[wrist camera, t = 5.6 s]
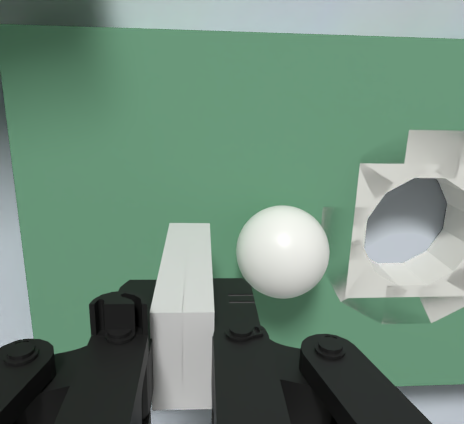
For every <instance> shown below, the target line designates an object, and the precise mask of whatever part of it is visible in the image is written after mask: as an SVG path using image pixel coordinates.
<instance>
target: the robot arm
mask: <svg viewBox="0 0 464 424" xmlns="http://www.w3.org/2000/svg"><path fill="white" fill-rule="evenodd" d="M89 314H90V328H91V337H90V340H89V342H88V344H87V346H84V347H82V348H79V349H76V350H72V351H67V352H62V353H58V354H54V348H53V345H51V344H50V343H49V342H48V341H45V340H41V339H23V340H17V341H14V342H12V343H9V344H7V345H4V346H2V347H1V348H0V424H151V412H150V408H151V402H152V411H153V410H197V409H212V424H432V423H431V422H430V421H429V420H428V419H427V418H426V417H425V416H424V415H423V414H422V413H421V412H420V411H419V410H418V409H417V408H416V407H415V406H414V405H413V404H412V403H411V402H410V401H409V400H408V399H407V398H406V397H405V396H404V394H403V393H402V392H401V391H400V390H399V389H398V388H397V387H396V386H395V385H394V384H393V383H392V382H391V381H390V380H389V379H388V378H387V377H386V376H385V375H384V374H383V373H382V372H381V371H380V370H379V369H378V368H377V367H376V366H375V365H374V364H373V363H372V362H371V361H370V360H369V359H368V358H367V357H366V356H365V355H364V354H363V353H362V352H361V351H360V350H359V349H358V348H357V347H356V346H355V345H354V344H353V343H351V342H350V341H349V340H347V339H344V338H342V337H339V336H337V335H333V334H332V335H331V334H315V335H312V336H308V337H307V338H306V339H304V340H303V341H302V344H301V348H295V347H289V346H285V345H281V344H279V343H276V342H274V341H272V340H271V339H269V335H268V333H267V331H266V329H265V328H264V327H263V326H261V325H260V321H259V317H258V312H257V308H256V304H255V300H254V296H253V291H252V287H251V285H250V284H249V283H248V282H247V281H245V280H244V279H243V278H213V274H212V256H211V237H210V223H169V228H168V232H167V237H166V241H165V246H164V250H163V255H162V259H161V264H160V268H159V273H158V277H157V280H129V281H127V282H126V283H125V284H123V285H122V286H121V287H120V288H119V291H116V292H110V293H106V294H102V295H100V296H98V297H96V298H95V299H93V300H92V301H91V302H90V304H89Z"/></svg>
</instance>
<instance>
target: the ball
mask: <svg viewBox="0 0 464 424" xmlns="http://www.w3.org/2000/svg"><path fill="white" fill-rule="evenodd" d="M329 253H330V250H329V243H328V239H327V236H326V234H325V231H324V230H323V228H322V226H321V225H320V224H319V222H318V221H317V220H316V219H315V218H314V217H313V216H311V215H310V214H309V213H307V212H305V211H303V210H301V209H299V208H296V207H292V206H286V205H279V206H272V207H269V208H266V209H263V210H261V211H259V212H258V213H256V214H255V215H253V216H252V217H251V218H250V219H249V220H248V221H247V222H246V224H245V225H244V226H243V228H242V230H241V232H240V234H239V237H238V241H237V246H236V257H237V263H238V266H239V269H240V271H241V273H242V275H243V277H244V278H245V280H246V281H247V282H248V283H249V284H250V285H251V286H252V287H253V288H254V289H255V290H257V291H258V292H260V293H262V294H264V295H267V296H269V297H273V298H280V299H287V298H293V297H297V296H300V295H302V294H304V293H306V292H308V291H309V290H311V289H312V288H313V287H315V286H316V285H317V284H318V282H319V281H320V280H321V278H322V277H323V275H324V273H325V271H326V269H327V266H328V262H329Z"/></svg>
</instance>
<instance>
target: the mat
mask: <svg viewBox="0 0 464 424" xmlns="http://www.w3.org/2000/svg"><path fill="white" fill-rule="evenodd" d="M0 72H1V80H2V88H3V96H4V104H5V112H6V120H7V128H8V136H9V144H10V152H11V160H12V168H13V176H14V184H15V192H16V200H17V208H18V216H19V224H20V232H21V240H22V248H23V256H24V264H25V272H26V280H27V288H28V296H29V304H30V312H31V320H32V328H33V336H34V339H41V340H45V341H48V342H49V343H50V344H51V345H53V348H54V354H58V353H62V352H67V351H72V350H76V349H79V348H82V347H84V346H87V344H88V342H89V340H90V337H91V328H90V314H89V304H90V302H91V301H92V300H93V299H95V298H96V297H98V296H100V295H102V294H106V293H110V292H116V291H119V288H120V287H121V286H122V285H123V284H125V283H126V282H127V281H129V280H157V277H158V273H159V268H160V264H161V259H162V255H163V250H164V246H165V241H166V237H167V232H168V228H169V223H210V237H211V256H212V274H213V278H243V279H244V280H245V278H244V277H243V275H242V273H241V271H240V269H239V266H238V263H237V257H236V246H237V241H238V237H239V234H240V232H241V230H242V228H243V226H244V225H245V224H246V222H247V221H248V220H249V219H250V218H251V217H252V216H253V215H255V214H256V213H258V212H259V211H261V210H263V209H266V208H269V207H272V206H279V205H286V206H292V207H296V208H299V209H301V210H303V211H305V212H307V213H309V214H310V215H311V216H313V217H314V218H315V219H316V220H317V221H318V222H319V224H320V225H321V226H322V228H323V230H324V231H325V234H326V236H327V239H328V243H329V250H330V253H329V262H328V266H327V269H326V271H325V273H324V275H323V277H322V278H321V280H320V281H319V282H318V284H317V285H316V286H315V287H313V288H312V289H311V290H309V291H308V292H306V293H304V294H302V295H300V296H297V297H293V298H287V299H280V298H273V297H269V296H267V295H264V294H262V293H260V292H258V291H257V290H255V289H254V288H253V287H252V286H251V287H252V291H253V296H254V300H255V304H256V308H257V312H258V317H259V321H260V325H261V326H263V327H264V328H265V329H266V331H267V333H268V335H269V339H271V340H272V341H274V342H276V343H279V344H281V345H285V346H289V347H295V348H301V344H302V341H303V340H304V339H306V338H307V337H308V336H312V335H315V334H331V335H332V334H333V335H337V336H339V337H342V338H344V339H347V340H349V341H350V342H351V343H353V344H354V345H355V346H356V347H357V348H358V349H359V350H360V351H361V352H362V353H363V354H364V355H365V356H366V357H367V358H368V359H369V360H370V361H371V362H372V363H373V364H374V365H375V366H376V367H377V368H378V369H379V370H380V371H381V372H382V373H383V374H384V375H385V376H386V377H387V378H388V379H389V380H390V381H391V382H392V383H393V384H394V385H395V386H424V385H455V384H464V39H445V38H415V37H384V36H354V35H323V34H293V33H263V32H232V31H202V30H171V29H141V28H111V27H80V26H50V25H19V24H0ZM414 178H435V179H437V180H438V182H439V184H440V187H441V189H442V192H443V194H444V197H445V199H446V202H447V208H446V213H445V219H444V225H443V229H442V231H441V232H440V233H439V235H438V236H437V237H436V239H435V240H434V241H433V243H432V244H431V245H430V247H429V248H428V249H427V250H426V251H425V252H423V253H421V254H419V255H417V256H415V257H413V258H411V259H409V260H407V261H405V262H403V263H376V262H374V261H373V260H371V259H369V258H368V256H367V254H366V251H365V249H364V243H365V235H366V227H367V219H368V218H369V216H370V215H371V213H372V212H373V211H374V209H375V208H376V206H377V205H378V204H379V202H380V201H381V199H382V198H383V197H384V195H385V194H386V193H387V192H389V191H391V190H393V189H395V188H397V187H398V186H400V185H402V184H404V183H406V182H408V181H410V180H412V179H414ZM245 281H246V280H245Z"/></svg>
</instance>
